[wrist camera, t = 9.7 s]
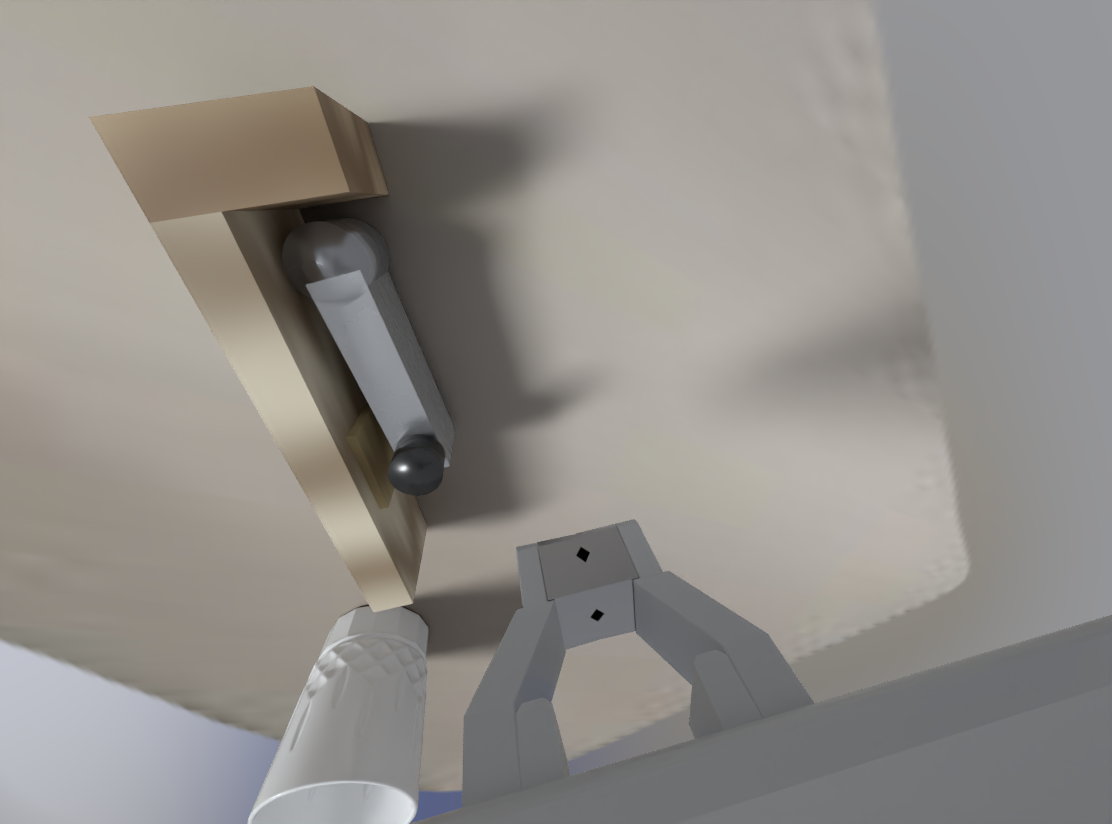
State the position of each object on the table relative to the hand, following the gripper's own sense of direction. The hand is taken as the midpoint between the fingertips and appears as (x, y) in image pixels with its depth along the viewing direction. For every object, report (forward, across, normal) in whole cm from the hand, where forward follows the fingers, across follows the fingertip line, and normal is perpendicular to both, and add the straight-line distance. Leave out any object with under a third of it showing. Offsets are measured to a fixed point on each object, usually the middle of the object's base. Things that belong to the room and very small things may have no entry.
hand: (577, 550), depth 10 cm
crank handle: (+13, +6, -2) cm, 14 cm away
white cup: (+13, +14, +19) cm, 27 cm away
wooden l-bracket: (+13, +7, -1) cm, 15 cm away
